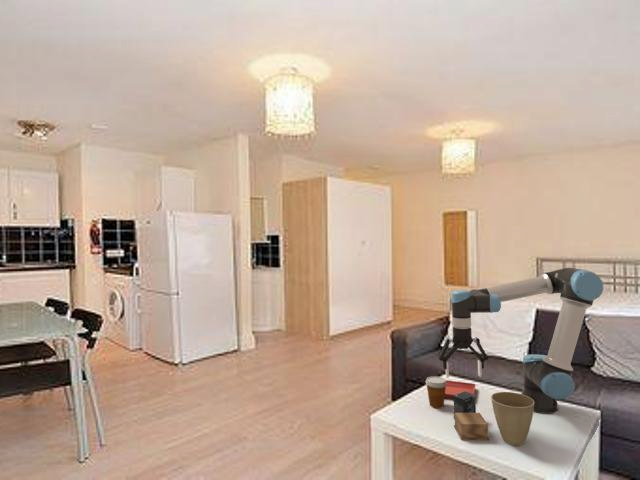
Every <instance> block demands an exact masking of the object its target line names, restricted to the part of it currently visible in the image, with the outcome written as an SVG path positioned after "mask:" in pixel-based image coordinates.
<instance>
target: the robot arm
mask: <svg viewBox="0 0 640 480" xmlns="http://www.w3.org/2000/svg"><path fill="white" fill-rule="evenodd" d="M603 291H604V282H603V280H602V279H601V277H600V276H599V275H598V274H596V273H595V272H593V271H589V270H587V269H582V268H581V269H579V268H573V267H566V268H565V267H564V268H559V269H555V270H552V271H547V272H543V273H541V275H540V276H536V277H535V276H534V277H531V278H528V279H527V278H526V279H522V280H516V281H512V282H508V283H503V284H499V285H494V286H490V287H485V288H481V289H474V288H473V289H469V290H466V289H457V290H456V289H455V290H453V291H452V292H451V301H450V302H451V313H452V315H451V316H452V317H451V319H452V338H448V337H446V338H445V340H444V344H443V346H442V349H441V350H440V353H439V355H438V356H437V357H438V360H439V361H441V362H442V367H443V370H445V377H446V378H448V379H449V378H450V371H449V370H450V366H449V365H450V364H449V361H448V360H450V358H451V357H452V355H454V353H455V352H456V351H457V350H458V349H459V350H468V349H470V351H471V352H472V353H473V354H474V355H475V356H476V357H477V358H478V359H477V376H479V378H483V374H482V373H483V372H482V371H483V370H484V367H485V365H484V364H485V361H488V360H489V357H488V356H487V354H486V352H485V350H484V348H483V346H482V344H481V342H480V341H481V340H480V338H479V337H478V336H476V337H474V338H472V313H473V314H478V313H479V314H480V313H481V314H482V313H483V314H484V313H490V314H492V313H499V312H501V309H502V303H503V302H507V301H512V300H517V299H522V298H527V297H531V296H536V295H537V296H538V295H541V294H547V295H554V294H560V295H559V298H560V300H561V302H562V304H561V306H560V307H561V308H560V311H559V314H558V317H557V320H556V323H555V324H556V325H555V328H554V331H553V335H552V339H551V341H550V342H551V343H550V346H549V349H548V352H547V355H544V354H537V353H536V354H532V353H531V354H526V355H524V356H523V357H522V377H523V379H522V380H523V381H522V382H523V389H522V391H521V394H522V395H525V396H528V397H530V398H531V399H533V400H534V410H533V413H539V414H552V413H553V414H554V413H556V412H557V411H558V410H559V408H558V401H557V400H564V399H566V398H569V397H570V396H571V395H572V394H573V392H574V390H575V388H576V387H575V382H574V380H573V378H572V376H573V372H574V368H573V367H572V364H571V363H572V360H573V357H574V353H575V349H576V346H577V343H578V339H579V336H580V332H581V330H582V325H583V322H584V318H585V315H586V312H587V309H588V308H591V307H593V304H594V301H595V300H596V299H599V298H600V297H601V295H602V294H603ZM452 343H453V344H452ZM472 343H475V345H476V346H477V348H478V350H479V352H480V354H481V355H482V356H481V355H480V354H479V352H478V351H476V350H475V349H474V347H473V346H472ZM450 344H452V345H451V347H450V349H449V346H450ZM448 349H449V350H448ZM447 350H448V351H447Z"/></svg>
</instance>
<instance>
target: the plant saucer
mask: <svg viewBox="0 0 640 480" xmlns="http://www.w3.org/2000/svg"><path fill="white" fill-rule="evenodd" d="M445 380H446V379H445ZM446 382H447V384H446V389H445V399H451V400H454V395H457V394H459V393H462V392H464V391H466V392H468V393H471V394H474V395H475V390H476V386H477V384H476V383H471V382H462V381H454V380H448V379H447V380H446Z"/></svg>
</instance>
